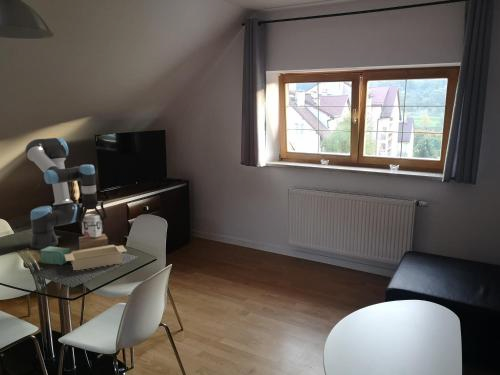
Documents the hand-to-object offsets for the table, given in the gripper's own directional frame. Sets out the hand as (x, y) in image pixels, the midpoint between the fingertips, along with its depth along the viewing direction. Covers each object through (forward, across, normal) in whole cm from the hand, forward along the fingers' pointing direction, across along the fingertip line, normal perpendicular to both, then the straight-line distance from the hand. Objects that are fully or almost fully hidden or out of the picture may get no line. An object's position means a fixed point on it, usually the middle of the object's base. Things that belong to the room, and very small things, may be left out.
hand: (92, 232), depth 233 cm
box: (+14, -20, -2) cm, 24 cm away
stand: (+13, 0, 0) cm, 13 cm away
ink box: (+2, 0, 0) cm, 2 cm away
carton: (+13, -1, -16) cm, 20 cm away
